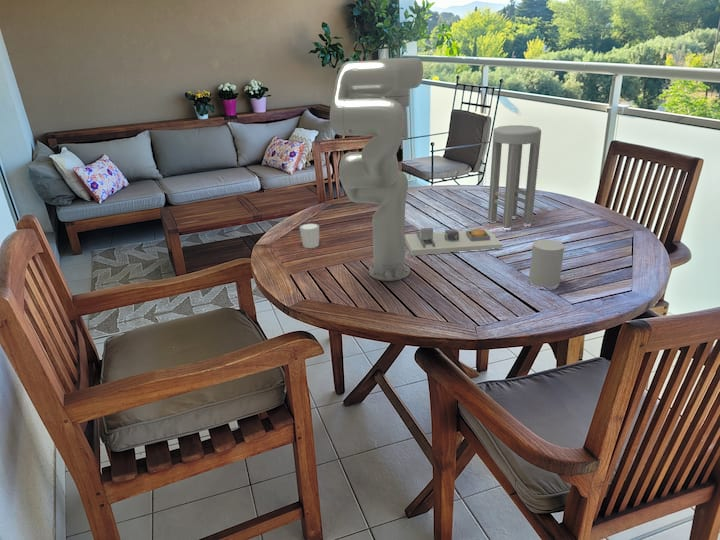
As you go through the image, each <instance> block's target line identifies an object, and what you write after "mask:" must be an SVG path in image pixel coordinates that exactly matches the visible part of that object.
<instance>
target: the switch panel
mask: <svg viewBox="0 0 720 540" xmlns="http://www.w3.org/2000/svg"><path fill="white" fill-rule="evenodd" d="M472 230H473V229H469V230H457V231H458V232H459V235H457V236H453V237H447V234H446V233H445V231H441V232H439V231H437V232H433V239H430V241H431V242H430V244H425V243H424V241H423V240H421V239H420V232H419V231H417V232H416V233H412V234H411V233H409V234H408V233H407V234H406V233H405V245H406V247H407V248H408V251H409V253H410V255H411V257H418V255H419V256H428V255H427V254H434V255H442V254H441V253H449V254H451V253H450V252H459V251H471V250H481V249H492V248H502V249H503V243H502V242H501V241H500V240H499V239H498V238H497V237H496V235H494V234H493V232H492V231H491V230H489V228H485V229H482V228H481V230H483V231H485V235H484V236H477V237H472V236H471V231H472Z"/></svg>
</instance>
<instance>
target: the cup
mask: <svg viewBox="0 0 720 540" xmlns="http://www.w3.org/2000/svg"><path fill="white" fill-rule="evenodd" d="M564 252H565V244H564V243H563V242H560V241H558V240H555V239H554V240H553V239H538V240H535V241H533V242H532V248H531V258H530V267H529V278H528V282H529V281H530V282H531V283H532V284H534V285H537V286H543V287H551V286H555V285H557V284H559V285H560V283H561V273H562V266H563V260H564ZM559 282H560V283H559Z"/></svg>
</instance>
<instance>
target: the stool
mask: <svg viewBox="0 0 720 540" xmlns="http://www.w3.org/2000/svg"><path fill="white" fill-rule="evenodd" d="M492 132H493V135H492V149H491V151H492V152H491V167H490V178H489V179H490V182H489V198H488V214H487V221H488V220H489V221H496V222H497V219H498V217H497V216H498V215H497V214H498V206H500V207H503V216H502V217H503V218H502V227H504V228H510V227H513V226H512V224H513V220H512V216H516V217H517V213H518V202H520V203H522V204H524V208H523V218H522V219H523V220H522V224H523V223H526V224H530V223H532V224H533V216H534V206H535V198H536V187H537V178H538V177H537V176H538V167H539V160H540V159H539V158H540V148H541V147H540V146H541V137H542V129H541V128H540V127H538V126H532V125H524V124H523V125H515V124H514V125H503V126H502V125H501V126H497V127H495V128H493V131H492ZM502 144H505V145H508V152H507V164H506V178H505V190H504V193H502V192H500V191H499V187H500V174H501V173H500V172H501V163H502V162H501V160H502V148H503V147H502V146H503V145H502ZM523 145H530V146H529V155H528V167H527V177H526V184H525V185H526V188H525V190H523V189H520V188H519V187H520V178H521V169H522V168H521V166H522V157H523V156H522V154H523ZM519 194H521V195H523V196H525V198H522V197H520V196H519ZM499 198H500V199H501V198H502V199H504V202H503V201H501V200H499Z"/></svg>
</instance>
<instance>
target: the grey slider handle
mask: <svg viewBox="0 0 720 540" xmlns="http://www.w3.org/2000/svg"><path fill="white" fill-rule="evenodd" d="M419 231H420V232H419V234H420V239H421V240H423V241H424V243H425V244H430V242H431V241H430V239H433V233H434V228H433V227H421V228H420V230H419Z"/></svg>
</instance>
